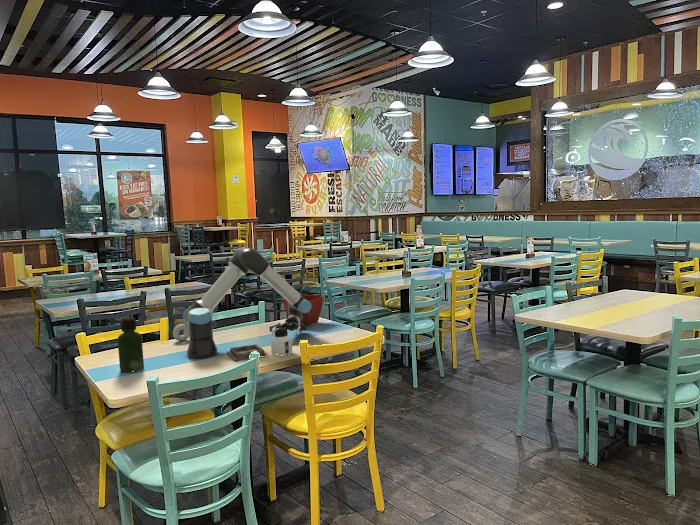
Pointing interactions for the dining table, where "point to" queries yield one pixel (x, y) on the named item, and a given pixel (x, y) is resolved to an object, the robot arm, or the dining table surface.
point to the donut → (176, 332)
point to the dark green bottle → (130, 346)
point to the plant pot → (313, 313)
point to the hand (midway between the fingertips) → (285, 332)
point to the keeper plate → (244, 352)
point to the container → (281, 342)
